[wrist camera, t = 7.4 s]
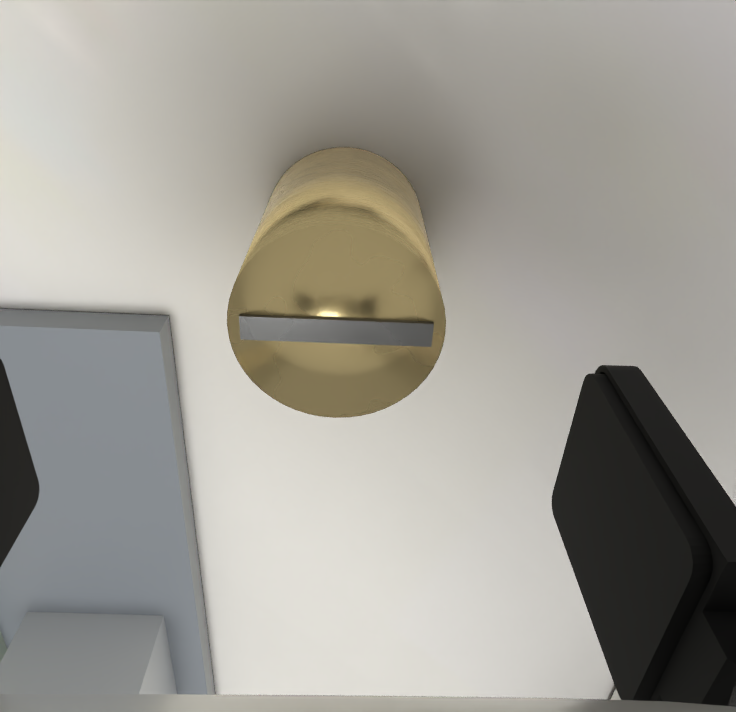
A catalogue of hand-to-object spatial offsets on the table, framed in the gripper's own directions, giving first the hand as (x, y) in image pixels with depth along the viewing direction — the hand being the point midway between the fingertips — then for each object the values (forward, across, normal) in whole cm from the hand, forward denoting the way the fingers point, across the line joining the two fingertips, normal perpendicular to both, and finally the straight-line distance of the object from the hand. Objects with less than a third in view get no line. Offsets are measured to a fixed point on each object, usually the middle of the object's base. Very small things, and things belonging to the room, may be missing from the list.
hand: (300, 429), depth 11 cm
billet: (+11, -1, +1) cm, 11 cm away
